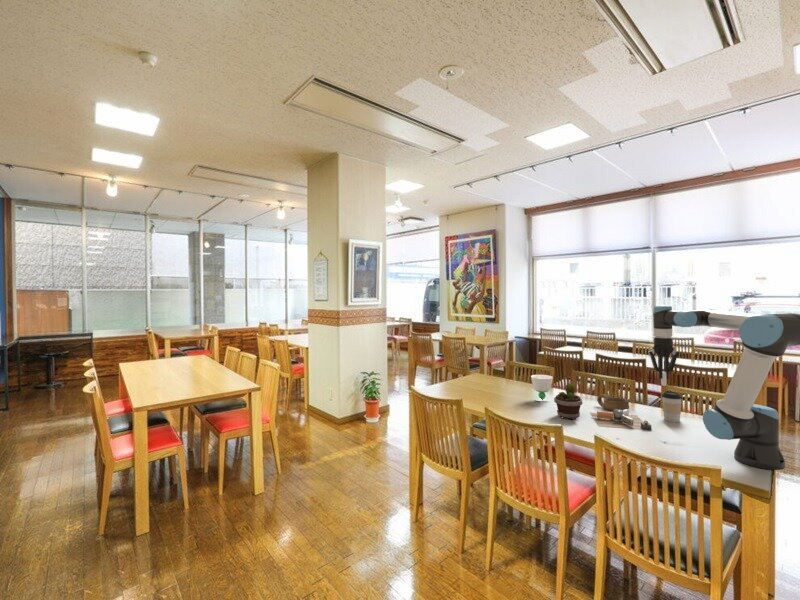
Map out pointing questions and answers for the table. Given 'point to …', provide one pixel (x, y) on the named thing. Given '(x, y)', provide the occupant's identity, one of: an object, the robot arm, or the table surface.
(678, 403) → the coffee cup
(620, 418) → the grey cross-shaped piece
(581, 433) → the table surface
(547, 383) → the cup
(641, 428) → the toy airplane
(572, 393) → the flowerpot
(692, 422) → the table surface
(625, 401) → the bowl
